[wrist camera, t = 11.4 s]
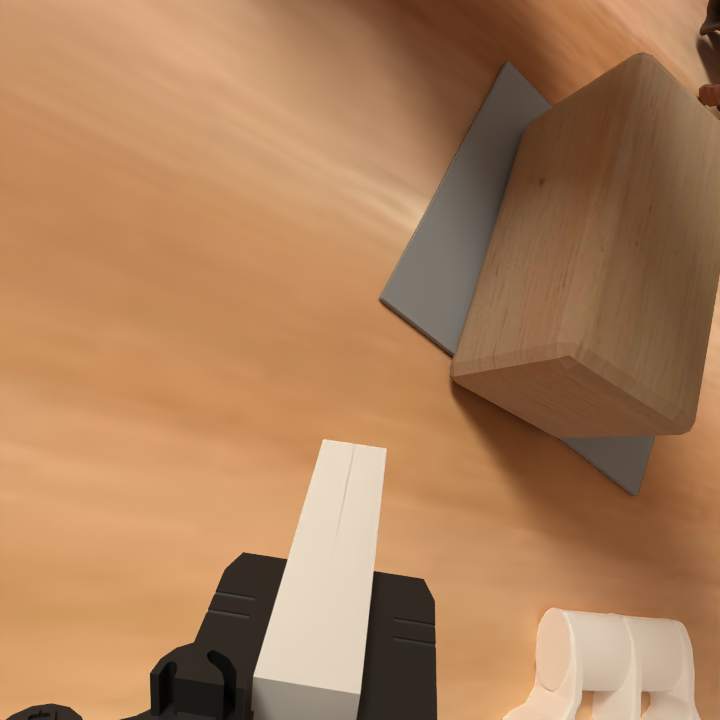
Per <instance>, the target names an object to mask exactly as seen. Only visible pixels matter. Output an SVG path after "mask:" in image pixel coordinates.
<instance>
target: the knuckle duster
mask: <svg viewBox="0 0 720 720" xmlns="http://www.w3.org/2000/svg"><path fill="white" fill-rule="evenodd" d="M535 660H536V678H535V686H534V688H533V690H532V692H531V693H530V695H529V697H528V698H527V700H526V702H525V703H524V704H523V705H520V706H518V707H516V708H514V709H513V710H511V711H510V712H509V713H508V714H506V715H505V716H504V718H503V719H502V720H575V715H576V711H577V709H578V707H579V705H580V703H581V701H582V691H594V696H593V713H592V720H701V719H700V717H699V715H698V712H697V709H696V707H695V704H694V683H695V670H694V662H693V651H692V645H691V641H690V637H689V635H688V632H687V630H686V628H685V626H684V625H683V624H682V623H681V622H679V621H677V620H671V619H667V618H659V619H658V618H647V617H637V616H626V615H619V614H615V613H608V614H605V613H594V612H583V611H572V610H563V609H560V608H553V607H552V608H551V609H549V610H548V611H546V612H545V614H544V615H543V617H542V619H541V621H540V624H539V626H538V632H537V644H536V656H535ZM641 691H649V694H650V699H651V700H650V706H649V708H648V709H647V710H646V712H645V713H644V714H643V716H642V717H641V719H640V716H641Z"/></svg>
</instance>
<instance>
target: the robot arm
mask: <svg viewBox="0 0 720 720" xmlns="http://www.w3.org/2000/svg"><path fill="white" fill-rule="evenodd" d="M386 450H387V449H386V448H380V447H373V446H366V445H359V444H353V443H346V442H339V441H332V440H326V439H323V442H322V446H321V449H320V452H319V456H318V459H317V463H316V466H315V469H314V473H313V476H312V479H311V483H310V486H309V490H308V493H307V496H306V500H305V503H304V506H303V510H302V513H301V517H300V520H299V523H298V527H297V530H296V534H295V537H294V540H293V544H292V547H291V550H290V554H289V557H288V559H282V558H276V557H269V556H263V555H256V554H250V553H244V552H243V553H242V554H241V555H240V556H239V557H238V558H237V559H236V560H234V561H233V562H232V563H231V564H230V565H229V566H228V567H227V568H226V569H225V570H224V573H223V575H222V577H221V580H220V582H219V585H218V587H217V589H216V593H215V595H214V596H213V599H212V601H211V603H210V606H209V608H208V613H206V615H205V618H204V620H203V622H202V625H201V627H200V629H199V632H198V634H197V637H196V639H195V641H194V643H191V644H188V645H184V646H181V647H178V648H176V649H174V650H173V651H171V652H170V653H168V654H167V655H165V656H164V657H163V658H161V659H160V660H159V662H158V663H157V665H156V666H155V667H154V669H153V670H152V671H151V673H150V693H151V709H150V710H147V711H145V712H143V713H141V714H139V715H137V716H133V717H129V718H125V719H121V720H437V689H436V648H435V643H436V641H435V600H434V598H433V596H432V594H431V593H430V591H429V589H428V587H427V585H426V583H425V581H424V579H420V578H414V577H408V576H401V575H395V574H388V573H382V572H376V571H374V562H375V553H376V544H377V534H378V525H379V516H380V506H381V497H382V488H383V478H384V469H385V460H386ZM6 720H83V719H82V717H81V716H80V715H79V714H77V713H76V712H75V711H74V710H72V709H71V708H70V707H66V706H61V705H57V704H45V705H38V706H32V707H29V708H27V709H25V710H23V711H20V712H18V713H16V714H13V715H11V716H10V717H9V718H8V719H6Z"/></svg>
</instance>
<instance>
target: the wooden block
mask: <svg viewBox="0 0 720 720" xmlns="http://www.w3.org/2000/svg"><path fill="white" fill-rule="evenodd" d="M719 275H720V121H719V120H718V119H717V118H716V117H715V116H714V115H713V114H712V113H711V112H710V111H709V110H708V109H707V108H706V107H705V106H704V105H703V104H702V103H701V102H700V101H699V100H698V99H696V98H695V97H694V96H693V95H692V94H691V93H690V92H689V91H688V90H687V89H686V88H685V87H684V86H683V85H682V84H681V83H680V82H679V81H678V80H677V79H676V78H675V77H674V76H673V75H672V74H671V73H670V72H669V71H668V70H667V69H666V68H665V67H664V66H663V65H662V64H661V63H660V62H659V61H657V60H656V59H655V58H654V57H653V56H652V55H650V54H647V53H644V52H642V53H639V54H635V55H632V56H631V57H629V58H628V59H626V60H625V61H623V62H622V63H620V64H618V65H617V66H615V67H614V68H612V69H611V70H609V71H608V72H606V73H605V74H603V75H601V76H600V77H598V78H597V79H595V80H594V81H592V82H591V83H589V84H587V85H586V86H584V87H583V88H581V89H580V90H578V91H577V92H575V93H574V94H572V95H570V96H569V97H567V98H566V99H564V100H563V101H561V102H560V103H558V104H556V105H555V106H553V107H552V108H550V109H549V110H547V111H546V112H544V113H542V114H541V115H539V116H538V117H536V118H535V119H533V120H532V121H531V122H530V123H529V124H528V125H527V127H526V128H525V130H524V132H523V134H522V137H521V140H520V144H519V147H518V150H517V153H516V156H515V160H514V163H513V166H512V169H511V173H510V176H509V179H508V182H507V186H506V189H505V192H504V195H503V198H502V202H501V205H500V208H499V211H498V215H497V218H496V221H495V224H494V228H493V231H492V234H491V237H490V240H489V244H488V247H487V250H486V253H485V257H484V260H483V263H482V266H481V270H480V273H479V276H478V279H477V282H476V286H475V289H474V292H473V295H472V299H471V302H470V305H469V308H468V312H467V315H466V318H465V321H464V324H463V328H462V331H461V334H460V337H459V341H458V344H457V347H456V350H455V354H454V357H453V360H452V363H451V366H450V373H451V378H452V379H453V380H454V381H455V382H456V383H457V384H459V385H461V386H463V387H465V388H467V389H468V390H470V391H472V392H474V393H476V394H477V395H479V396H481V397H483V398H485V399H486V400H488V401H490V402H492V403H494V404H496V405H497V406H499V407H501V408H503V409H505V410H506V411H508V412H510V413H512V414H514V415H516V416H517V417H519V418H521V419H523V420H525V421H526V422H528V423H530V424H532V425H534V426H536V427H537V428H539V429H541V430H543V431H545V432H546V433H548V434H550V435H552V436H554V437H555V438H584V437H617V436H651V435H681V434H683V433H686V432H688V431H690V429H691V427H692V426H693V424H694V422H695V418H696V412H697V406H698V400H699V394H700V388H701V382H702V377H703V371H704V365H705V359H706V353H707V347H708V341H709V335H710V329H711V323H712V317H713V311H714V305H715V299H716V293H717V287H718V281H719Z"/></svg>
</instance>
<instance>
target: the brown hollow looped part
mask: <svg viewBox="0 0 720 720" xmlns="http://www.w3.org/2000/svg"><path fill="white" fill-rule="evenodd" d="M715 30H719V31H720V0H709V2H708V6H707V17H706V20H705V22H704V24H703V25H702V27H701V29H700V35H702V36H704V35H706V34H708V33H710V32H712V31H715ZM699 97H700V102H701V103H702V104H704V105H708V106H709V107H711V106H717V109H718V111H719V112H720V83H719V84H716V85H708V84H706V85H703V86H702V87H701V88H700V89H699Z"/></svg>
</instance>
